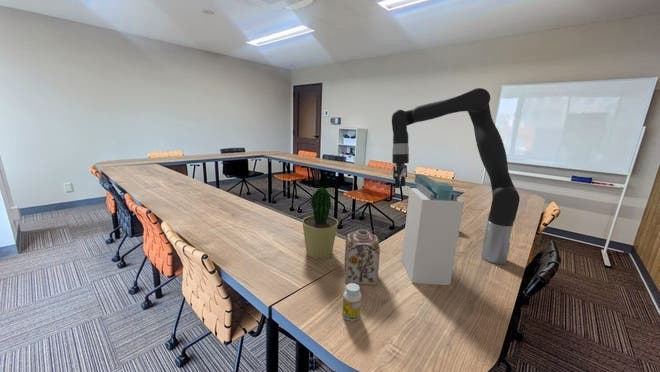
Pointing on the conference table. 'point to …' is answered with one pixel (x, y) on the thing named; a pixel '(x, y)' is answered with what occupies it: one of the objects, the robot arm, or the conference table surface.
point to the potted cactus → (320, 226)
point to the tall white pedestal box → (431, 236)
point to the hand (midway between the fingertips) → (400, 187)
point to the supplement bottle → (351, 302)
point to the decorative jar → (361, 258)
